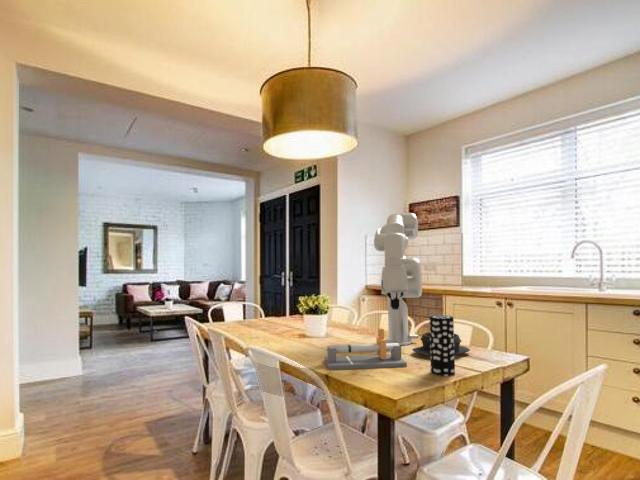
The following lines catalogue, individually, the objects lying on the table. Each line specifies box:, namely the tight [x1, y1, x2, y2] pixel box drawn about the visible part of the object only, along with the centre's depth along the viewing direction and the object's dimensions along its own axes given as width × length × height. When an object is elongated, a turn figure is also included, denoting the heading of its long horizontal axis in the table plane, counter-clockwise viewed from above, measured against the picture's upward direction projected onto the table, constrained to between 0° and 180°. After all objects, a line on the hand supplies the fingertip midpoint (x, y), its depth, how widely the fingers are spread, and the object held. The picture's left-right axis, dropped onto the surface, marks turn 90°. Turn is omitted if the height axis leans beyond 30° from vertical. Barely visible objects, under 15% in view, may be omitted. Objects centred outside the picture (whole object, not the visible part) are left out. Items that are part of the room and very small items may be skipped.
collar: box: [376, 327, 387, 359], centre depth 157 cm, size 2×7×11 cm, turn 6°
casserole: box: [412, 331, 471, 356], centre depth 170 cm, size 25×19×8 cm
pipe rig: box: [324, 343, 408, 371], centre depth 156 cm, size 30×14×8 cm, turn 96°
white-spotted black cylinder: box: [428, 314, 456, 377], centre depth 142 cm, size 8×8×20 cm
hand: (395, 309), depth 158 cm, fingers closed
